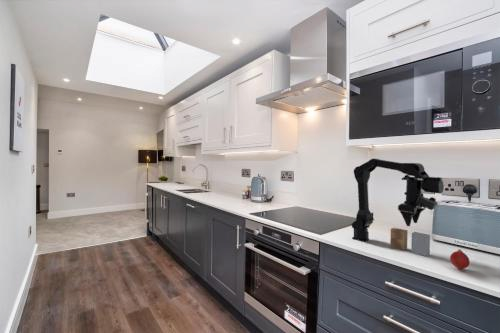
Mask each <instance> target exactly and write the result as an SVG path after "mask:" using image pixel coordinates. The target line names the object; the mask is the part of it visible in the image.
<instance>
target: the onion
mask: <svg viewBox="0 0 500 333" xmlns="http://www.w3.org/2000/svg"><path fill="white" fill-rule="evenodd" d="M449 260H450V263H451V265H453V266H454V268H456V269H457V270H459V271H462V270H464V269H466V268H468V267H469V266H470V264H471V263H470V262H471V261H470V258H469V256H468V255H467V254H465V252H463V251H462V249H457V250H456V251H454V252H452V253H451V254H450V256H449Z"/></svg>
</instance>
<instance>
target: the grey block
mask: <svg viewBox="0 0 500 333" xmlns="http://www.w3.org/2000/svg"><path fill="white" fill-rule="evenodd" d="M410 244H411V249H410V250H411V251H410V252H411V253H412V254H415V255H420V256H423V257H425V258H426V257H428V256H430V252H431V250H430V248H431V234H429V233H428V234H427V233H424V232H418V231H414V232H411V243H410Z"/></svg>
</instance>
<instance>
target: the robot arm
mask: <svg viewBox="0 0 500 333" xmlns="http://www.w3.org/2000/svg"><path fill="white" fill-rule="evenodd" d="M376 168H383V169H388V170H393V171H398V172H400V173H402V174H405V176H404V175H403V177H402V178H401V180H402V181H406V186H405V192H404V193H403V194H404V196H405V200H404V202H401V203H399V205H398V206H397V210H398V211H399V213H400V215H401V216H402V218H403V221H404V222H405V225H406V227H411V224H412V221H413V223H414V224H417V223H418V221H419V218H420V215H421V213H423V211H425V210H426V209H428V210H430V211H433V210H435V208H436V206H437V205H438V201H437V200H436V198H435V197H433V196H432V197H430V198H429V197H425V196H424V193H423V192H422V191H424V192H425V193H433V194H442V193H443V192H444V188H445V185H444V181H443V177H439V176H438V177H437V176H436V177H435V176H434V177H432V176H430V175H429V173H427V172H426V170H425V167H424V165H423V164H422V163H420V162H397V161H390V160H384V159H380V158H370V159H369V160H368V161H366V162H364V163H362V164H360V165H359V166H356V167H354V169H353V174H354V179H355V180H356V182H357V194H358V197H357V198H358V211H357V213H356V218H355V221H353V222H352V223H351V224H350V225H351V228H352V229H353V237H351V239H353V240H356V241H360V242H366V241H369V240H370V238H369V230H368V229H369V228H370V226H371V225H372V224H373V222H374V221H375V218H374V212H371V211H370V209H369V208H370V205H369V189H368V188H369V187H368V186H369V183H368V182H369V180H370V178H371V173H372V172H373V171H375V170H376Z"/></svg>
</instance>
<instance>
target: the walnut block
mask: <svg viewBox="0 0 500 333" xmlns="http://www.w3.org/2000/svg"><path fill="white" fill-rule="evenodd" d="M408 233H409V232H408V230H407V229H403V228H398V227H393V228H390V240H389V241H390V245H389V246H390V248H393V249H397V250H400V251H407V249H408Z"/></svg>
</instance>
